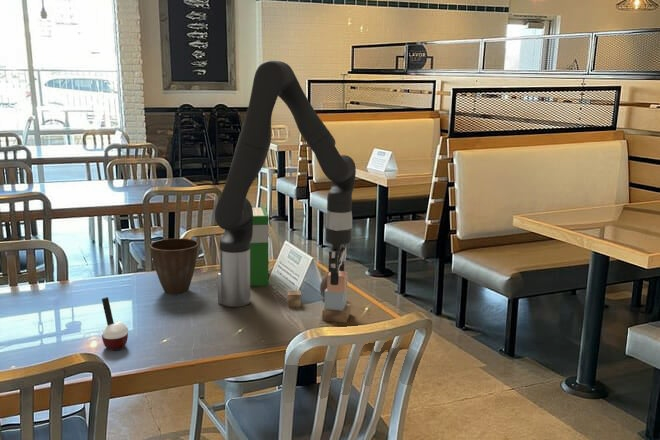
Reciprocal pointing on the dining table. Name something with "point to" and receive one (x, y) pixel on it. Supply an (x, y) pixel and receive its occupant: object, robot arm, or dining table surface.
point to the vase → (323, 286)
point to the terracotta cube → (341, 284)
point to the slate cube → (335, 300)
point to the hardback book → (259, 248)
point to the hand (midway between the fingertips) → (337, 279)
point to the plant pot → (174, 263)
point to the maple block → (294, 298)
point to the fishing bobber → (113, 330)
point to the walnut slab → (336, 314)
